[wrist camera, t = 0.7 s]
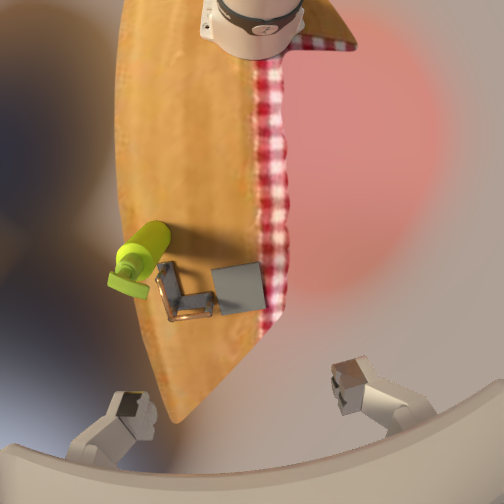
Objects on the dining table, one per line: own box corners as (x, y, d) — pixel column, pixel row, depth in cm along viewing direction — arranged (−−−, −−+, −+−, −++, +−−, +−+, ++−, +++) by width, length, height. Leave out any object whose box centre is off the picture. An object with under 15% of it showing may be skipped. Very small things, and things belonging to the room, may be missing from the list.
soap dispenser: (170, 257, 52) (142, 314, 33) (137, 244, 50) (94, 294, 32) (180, 229, 50) (152, 275, 31) (145, 216, 49) (100, 254, 30)
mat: (211, 269, 53) (211, 270, 53) (258, 261, 53) (258, 262, 53) (221, 313, 57) (221, 315, 56) (265, 306, 57) (265, 308, 56)
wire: (157, 263, 52) (148, 277, 46) (203, 255, 52) (200, 269, 46) (171, 310, 56) (165, 328, 50) (215, 303, 56) (213, 322, 50)
